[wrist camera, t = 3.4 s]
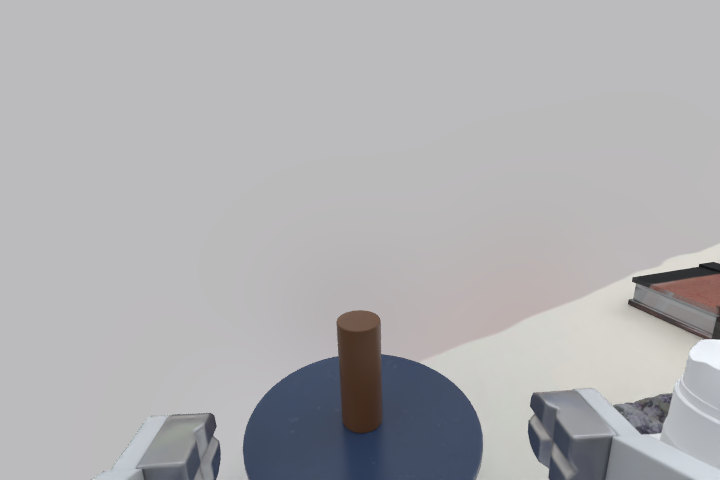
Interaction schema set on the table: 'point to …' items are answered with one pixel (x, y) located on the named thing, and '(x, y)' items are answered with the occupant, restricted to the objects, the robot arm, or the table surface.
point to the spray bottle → (696, 406)
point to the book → (683, 298)
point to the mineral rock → (646, 413)
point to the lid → (363, 418)
